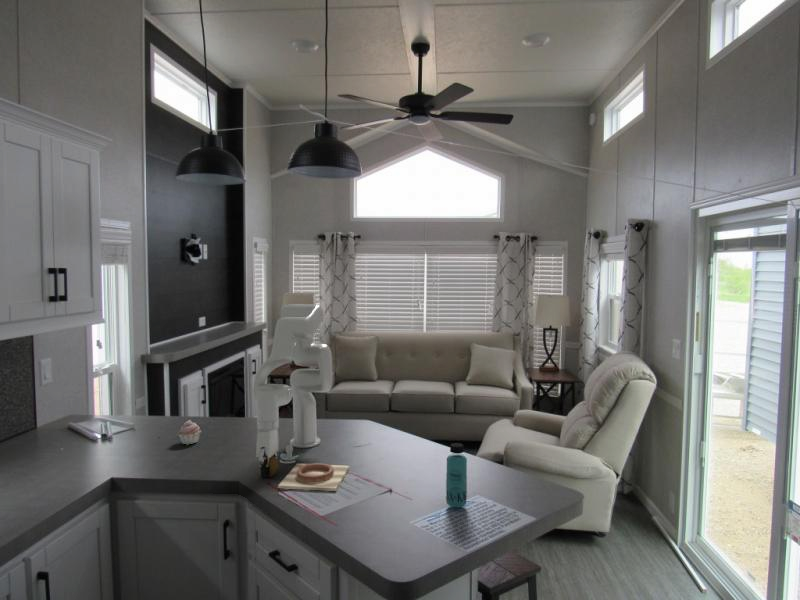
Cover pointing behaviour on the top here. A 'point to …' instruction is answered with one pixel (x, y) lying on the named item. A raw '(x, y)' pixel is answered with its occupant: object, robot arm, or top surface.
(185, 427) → the cupcake
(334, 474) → the ring board
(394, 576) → the top surface
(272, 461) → the fruit
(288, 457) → the pacifier
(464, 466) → the beverage bottle
